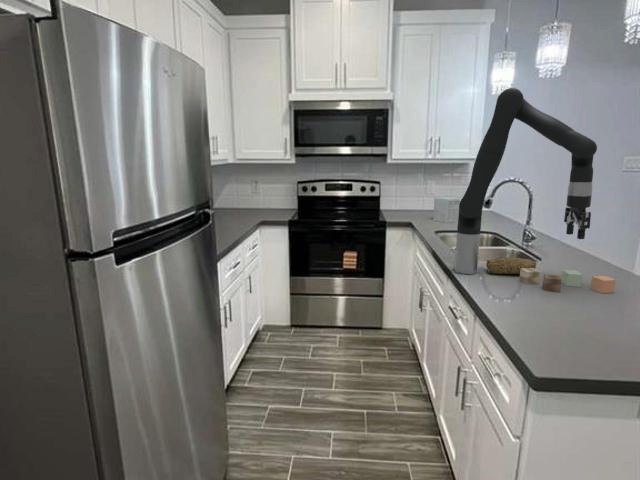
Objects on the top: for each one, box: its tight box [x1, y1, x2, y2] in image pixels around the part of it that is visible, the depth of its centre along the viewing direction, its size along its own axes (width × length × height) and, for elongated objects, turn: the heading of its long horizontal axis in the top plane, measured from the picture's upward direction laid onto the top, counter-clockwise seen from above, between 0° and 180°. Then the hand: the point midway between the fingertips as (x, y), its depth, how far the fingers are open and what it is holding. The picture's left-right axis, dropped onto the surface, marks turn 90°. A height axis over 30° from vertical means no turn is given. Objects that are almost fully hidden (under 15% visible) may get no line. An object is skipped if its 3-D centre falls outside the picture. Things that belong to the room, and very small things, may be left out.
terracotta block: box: [589, 275, 616, 294], centre depth 143 cm, size 5×5×5 cm
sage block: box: [560, 269, 584, 288], centre depth 150 cm, size 5×5×5 cm
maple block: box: [519, 268, 541, 285], centre depth 153 cm, size 5×5×5 cm
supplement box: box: [432, 196, 461, 224], centre depth 286 cm, size 13×13×18 cm
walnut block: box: [542, 274, 562, 293], centre depth 144 cm, size 5×5×5 cm
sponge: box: [485, 256, 537, 275], centre depth 164 cm, size 13×8×20 cm
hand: (575, 236), depth 147 cm, fingers open, 8 cm apart
